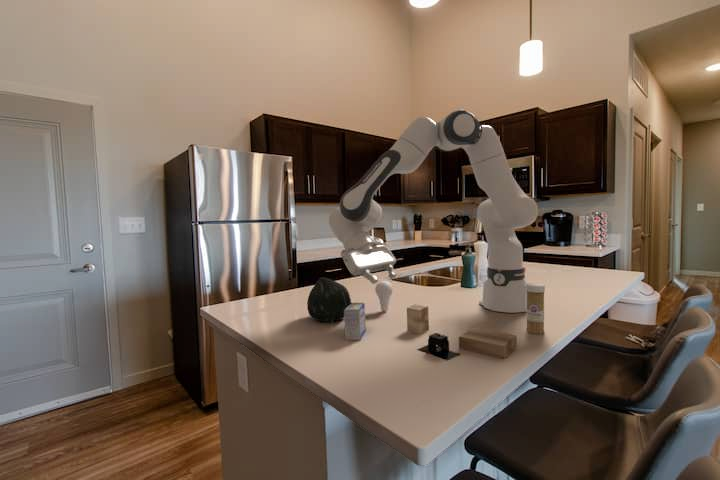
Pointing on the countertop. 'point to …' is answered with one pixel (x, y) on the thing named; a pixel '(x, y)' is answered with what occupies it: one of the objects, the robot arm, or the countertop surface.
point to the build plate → (439, 347)
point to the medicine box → (354, 321)
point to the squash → (328, 300)
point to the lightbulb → (384, 294)
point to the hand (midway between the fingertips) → (385, 279)
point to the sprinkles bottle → (535, 308)
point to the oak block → (417, 319)
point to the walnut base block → (488, 342)
